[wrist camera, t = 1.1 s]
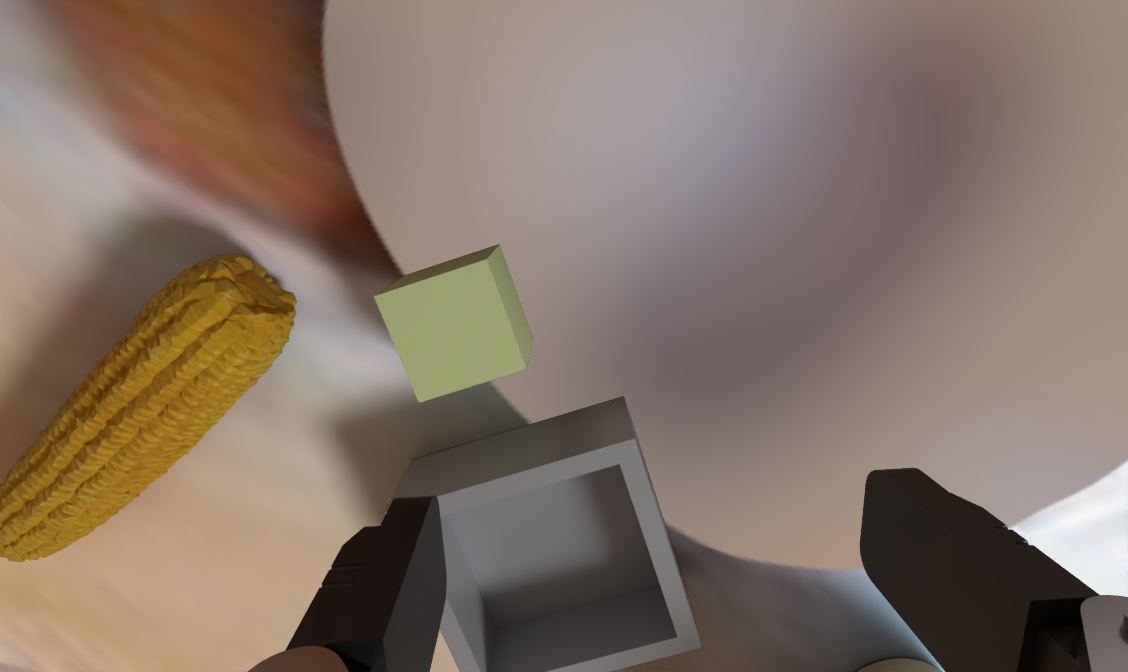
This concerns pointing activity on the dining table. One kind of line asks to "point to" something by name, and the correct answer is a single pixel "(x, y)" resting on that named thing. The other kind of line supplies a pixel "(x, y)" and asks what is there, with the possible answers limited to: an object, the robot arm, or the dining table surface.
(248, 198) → the dining table surface
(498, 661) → the bin
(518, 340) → the green block
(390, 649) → the robot arm
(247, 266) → the food
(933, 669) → the plant pot
